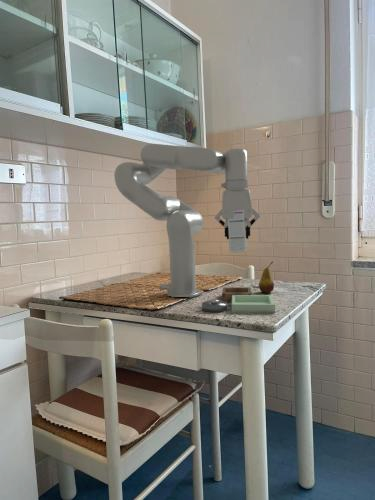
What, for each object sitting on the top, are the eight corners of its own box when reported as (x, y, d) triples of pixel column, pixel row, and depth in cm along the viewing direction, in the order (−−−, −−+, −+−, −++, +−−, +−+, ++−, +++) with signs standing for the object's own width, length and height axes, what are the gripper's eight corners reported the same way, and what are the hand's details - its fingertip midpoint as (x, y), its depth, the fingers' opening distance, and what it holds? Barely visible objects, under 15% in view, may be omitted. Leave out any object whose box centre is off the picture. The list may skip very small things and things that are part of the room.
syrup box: (246, 252, 128) (245, 209, 127) (229, 252, 129) (227, 210, 128) (246, 250, 134) (245, 209, 132) (229, 251, 135) (228, 210, 133)
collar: (222, 301, 130) (222, 293, 130) (223, 295, 140) (223, 287, 140) (251, 301, 129) (251, 293, 128) (250, 295, 139) (250, 287, 138)
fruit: (268, 290, 146) (268, 259, 145) (276, 293, 141) (276, 261, 140) (255, 291, 145) (255, 260, 143) (263, 294, 139) (263, 262, 138)
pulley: (200, 312, 117) (200, 303, 117) (203, 306, 125) (203, 297, 125) (226, 312, 116) (226, 303, 116) (227, 306, 124) (227, 297, 124)
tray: (231, 312, 116) (231, 304, 116) (232, 302, 129) (232, 295, 129) (274, 312, 115) (274, 304, 114) (271, 302, 127) (271, 295, 127)
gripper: (210, 186, 127) (212, 240, 128) (263, 184, 125) (263, 238, 126) (211, 187, 134) (213, 238, 136) (261, 186, 132) (261, 237, 134)
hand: (237, 238), depth 131 cm, fingers closed on syrup box, 6 cm apart
